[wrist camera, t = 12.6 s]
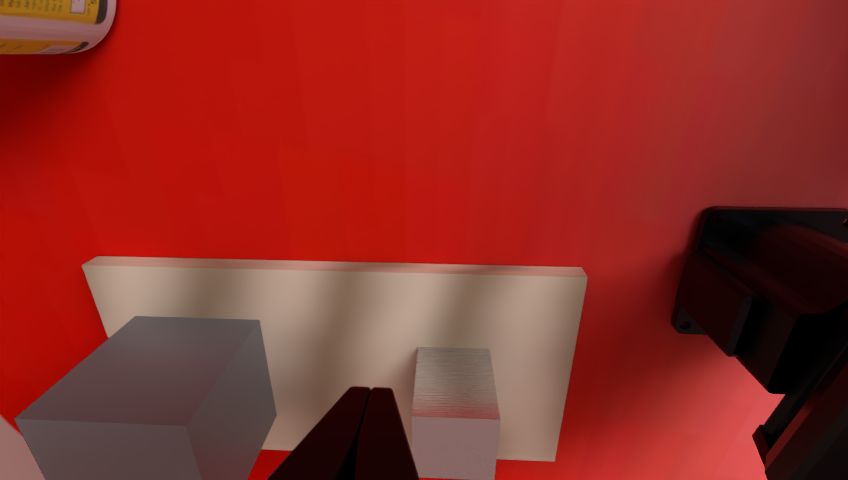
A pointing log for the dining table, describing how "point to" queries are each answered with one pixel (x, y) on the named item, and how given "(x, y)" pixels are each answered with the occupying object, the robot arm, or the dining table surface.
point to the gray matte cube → (158, 405)
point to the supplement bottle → (53, 25)
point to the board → (372, 329)
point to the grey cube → (455, 414)
